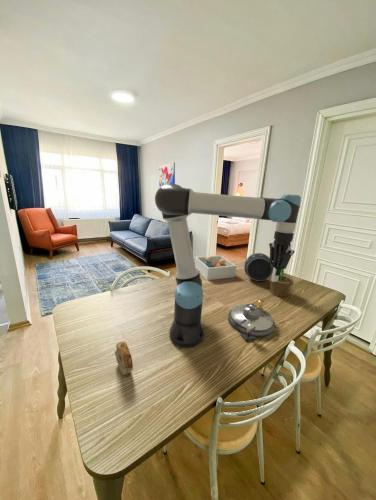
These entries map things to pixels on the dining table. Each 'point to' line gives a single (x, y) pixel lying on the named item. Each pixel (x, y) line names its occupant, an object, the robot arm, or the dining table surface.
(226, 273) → the parts crate
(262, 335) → the turntable base
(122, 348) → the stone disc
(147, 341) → the dining table surface
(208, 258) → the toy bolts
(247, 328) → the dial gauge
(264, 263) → the dark decorated bowl
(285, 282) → the flowerpot
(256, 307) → the cover
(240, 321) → the turntable
